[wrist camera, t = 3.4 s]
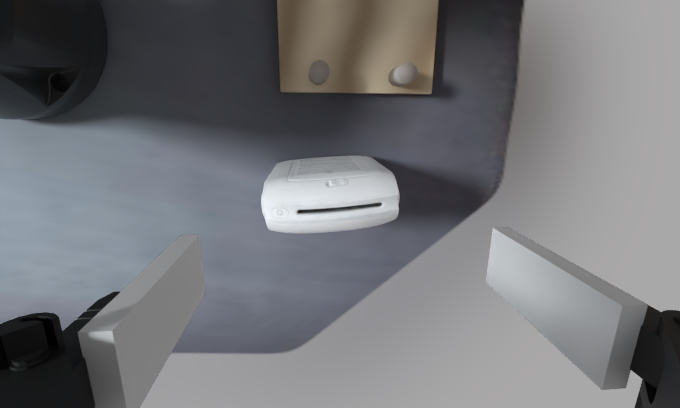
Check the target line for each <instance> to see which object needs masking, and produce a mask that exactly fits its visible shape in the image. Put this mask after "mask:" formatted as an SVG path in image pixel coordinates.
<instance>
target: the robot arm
mask: <svg viewBox="0 0 680 408" xmlns="http://www.w3.org/2000/svg"><path fill="white" fill-rule="evenodd" d="M106 52H107V33H106V26H105V20H104V17H103V13H102V10H101V7H100V4H99V2H98V0H0V119H40V118H47V117H51V116H55V115H58V114H61V113H63V112H66V111H68V110H70V109H71V108H73V107H75V106H76V105H78V104H79V103H80V102H81V101H83V100H84V99H85V98H86V97H87V96H88V95H89V93H90V92H91V91H92V90H93V88H94V87H95V85H96V84H97V82H98V80H99V78H100V76H101V73H102V71H103V68H104V64H105V59H106ZM486 283H487V284H488V285H490V286H491V287H492V288H493V289H494V290H495V291H496V292H497V293H498V294H499V295H501V297H502V298H504V299H505V300H506V301H507V302H508V303H509V304H510V305H511V306H512V307H513V308H514V309H515V310H517V311H518V312H519V313H520V314H521V315H522V316H523V317H524V318H525V319H526V320H527V321H528V322H529V323H530V324H532V325H533V326H534V327H535V328H536V329H537V330H538V331H539V332H540V333H541V334H542V335H543V336H544V337H545V338H547V339H548V340H549V341H550V342H551V343H552V344H553V345H554V346H555V347H556V348H557V349H559V351H561V352H562V353H563V354H564V355H565V356H566V357H567V358H568V359H569V360H570V361H571V362H572V363H573V364H575V365H576V366H577V367H578V368H579V369H580V370H581V371H582V372H583V373H584V374H585V375H587V377H589V378H590V379H591V380H592V381H593V382H594V383H595V384H596V385H597V386H599V388H600V389H601V390H606V389H620V388H626V385H627V382H628V378H629V374H630V370H632V371H633V372H635V373H636V374H637V375H638V376H640V377H641V378H642V379H643V380H642V384H641V387H640V391H639V394H638V398H637V402H636V405H635V408H680V311H676V310H666V311H663V312H660V311H658V310H656V309H654V308H652V307H651V306H649V305H648V304H646V303H644V302H642V301H640V300H639V299H637V298H635V297H633V296H631V295H630V294H628V293H626V292H624V291H622V290H620V289H619V288H617V287H615V286H613V285H611V284H610V283H608V282H606V281H604V280H602V279H601V278H599V277H597V276H595V275H593V274H592V273H590V272H588V271H586V270H584V269H583V268H581V267H579V266H577V265H575V264H574V263H572V262H570V261H568V260H566V259H565V258H563V257H561V256H559V255H557V254H556V253H554V252H552V251H550V250H548V249H546V248H545V247H543V246H541V245H539V244H537V243H535V242H534V241H532V240H530V239H528V238H527V237H525V236H523V235H521V234H519V233H518V232H516V231H514V230H512V229H510V228H493V231H492V238H491V246H490V254H489V262H488V269H487V278H486ZM204 295H205V287H204V277H203V267H202V258H201V248H200V239H199V235H181V236H179V237H178V238H177V239H176V240H175V241H174V242H173V243H172V244H171V245H170V246H169V247H168V248H167V249H166V250H165V251H164V252H162V253H161V254H160V255H159V256H158V257H157V258H156V259H155V260H154V261H153V262H152V263H151V264H150V265H149V266H148V267H147V268H145V269H144V270H143V271H142V272H141V273H140V274H139V275H138V276H137V277H136V278H135V279H134V280H133V281H132V282H131V283H130V284H129V285H127V286H126V287H125V288H124V289H123V290H122V291H121V292H113V293H111V294H109V295H107V296H105V297H103V298H101V299H99V300H98V301H97V302H95V303H94V304H93V305H92V306H91V307H90V308H89V309H87V312H84V313H83V314H82V315H81V316H79V317H78V319H77V320H75V321H74V322H73V323H72V324H70V325H69V326H68V327H67V328H66V329H65V330H64V331H62V329H61V325H60V320H59V317H58V316H57V315H56V314H53V313H46V312H45V313H35V314H30V315H26V316H21V317H18V318H15V319H12V320H10V321H7V322H4V323H2V324H0V408H140V406H141V404H142V402H143V401H144V399H145V397H146V396H147V394H148V392H149V390H150V388H151V387H152V385H153V383H154V382H155V380H156V378H157V376H158V375H159V373H160V371H161V369H162V368H163V366H164V364H165V362H166V361H167V359H168V357H169V355H170V354H171V352H172V350H173V349H174V347H175V345H176V343H177V342H178V340H179V338H180V336H181V335H182V333H183V331H184V329H185V328H186V326H187V324H188V322H189V321H190V319H191V317H192V315H193V314H194V312H195V310H196V308H197V307H198V305H199V303H200V302H201V300H202V298H203V296H204Z"/></svg>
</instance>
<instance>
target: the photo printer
mask: <svg viewBox="0 0 680 408" xmlns="http://www.w3.org/2000/svg"><path fill="white" fill-rule="evenodd" d="M399 199H400V194H399V189H398V186H397V182H396V179H395V176H394V174H393V173H392V172H391V171H390V170H388V169H387V168H385V167H384V166H383V165H381V164H380V163H378V162H377V161H376V160H374V159H373V158H372V157H368V156H333V157H318V158H306V159H296V160H288V161H283V162H280V163H277V164H276V165H275V167H274V169H273V170H272V172H271V173H270V175H269V176H268V178H267V179H266V181H265V183H264V188H263V193H262V196H261V205H262V212H263V215H264V217H265V220H266V224H267V227H268V229H269V230H272V231H277V232H283V233H321V232H335V231H345V230H354V229H360V228H367V227H372V226H377V225H381V224H384V223H387V222H390V221H392V220H395V219H396V218H397V216H398V213H399V205H398V204H399Z"/></svg>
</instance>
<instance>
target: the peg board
mask: <svg viewBox="0 0 680 408" xmlns="http://www.w3.org/2000/svg"><path fill="white" fill-rule="evenodd" d="M438 2H439V0H277V12H278V40H279V68H280V92H289V93H358V94H432V82H433V69H434V55H435V42H436V28H437V15H438Z"/></svg>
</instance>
